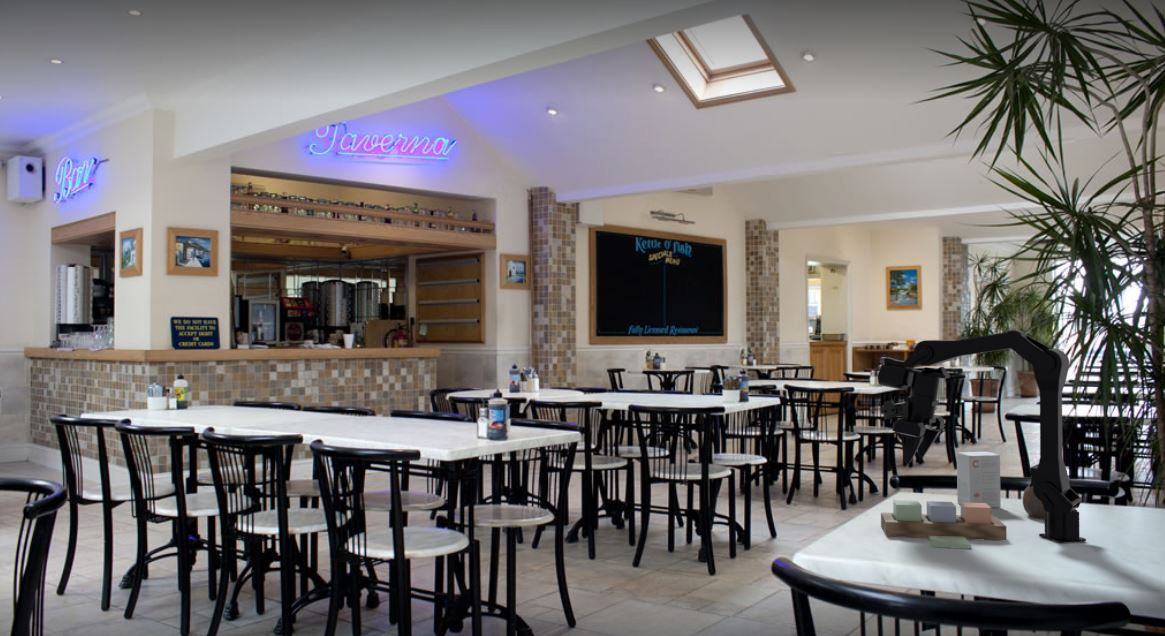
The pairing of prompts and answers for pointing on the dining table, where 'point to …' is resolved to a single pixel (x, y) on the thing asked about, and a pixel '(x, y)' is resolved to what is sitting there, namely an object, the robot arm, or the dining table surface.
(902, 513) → the sage button
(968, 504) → the terracotta button
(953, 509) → the slate button
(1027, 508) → the vase
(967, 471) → the small box
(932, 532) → the walnut panel
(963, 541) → the sage tile
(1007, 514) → the dining table surface
